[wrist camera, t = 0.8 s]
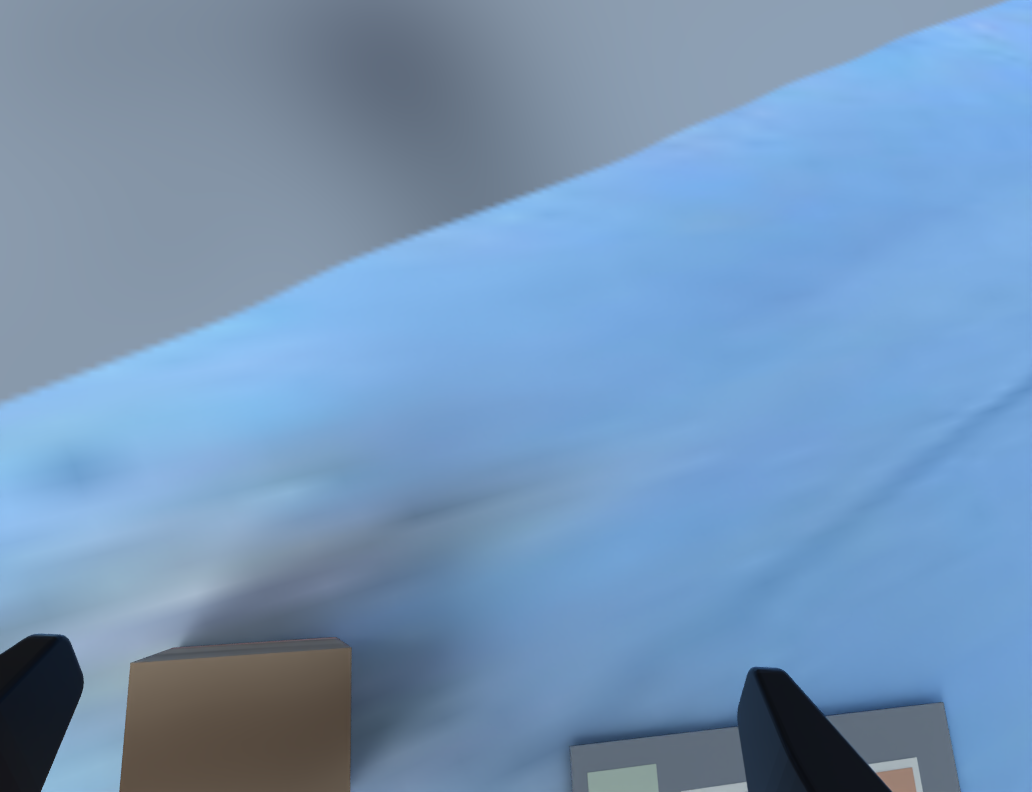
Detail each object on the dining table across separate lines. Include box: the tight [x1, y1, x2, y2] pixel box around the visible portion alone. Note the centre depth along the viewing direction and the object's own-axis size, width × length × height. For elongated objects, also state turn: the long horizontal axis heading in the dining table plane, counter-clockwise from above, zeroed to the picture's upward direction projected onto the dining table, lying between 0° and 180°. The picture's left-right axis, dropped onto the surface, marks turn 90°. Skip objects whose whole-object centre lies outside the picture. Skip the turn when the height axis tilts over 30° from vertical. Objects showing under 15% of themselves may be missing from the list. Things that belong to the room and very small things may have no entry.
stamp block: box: [119, 637, 352, 792], centre depth 18 cm, size 4×4×6 cm
